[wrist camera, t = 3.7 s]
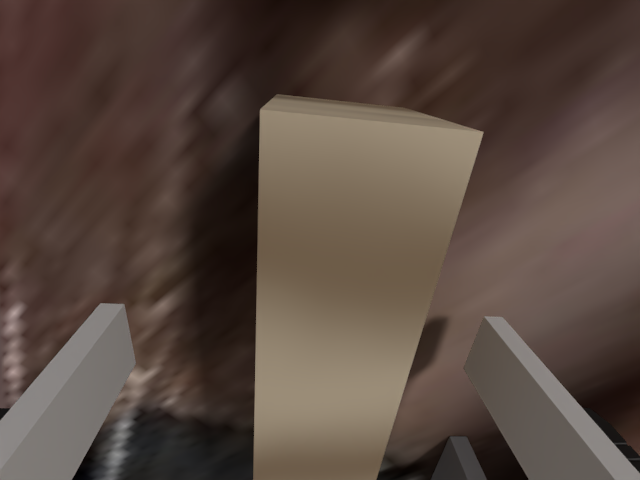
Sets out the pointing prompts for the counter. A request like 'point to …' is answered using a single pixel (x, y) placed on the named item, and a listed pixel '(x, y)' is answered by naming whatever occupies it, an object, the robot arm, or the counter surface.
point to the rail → (345, 274)
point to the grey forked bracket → (458, 462)
